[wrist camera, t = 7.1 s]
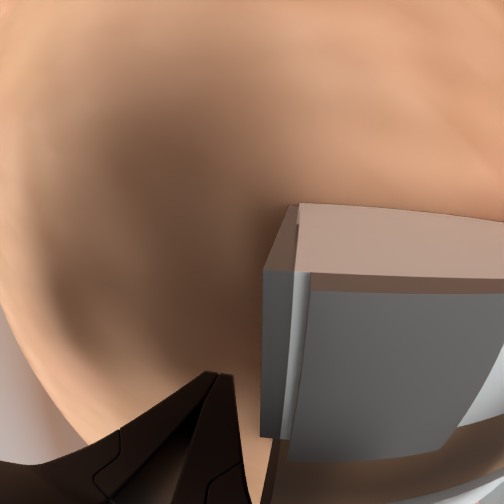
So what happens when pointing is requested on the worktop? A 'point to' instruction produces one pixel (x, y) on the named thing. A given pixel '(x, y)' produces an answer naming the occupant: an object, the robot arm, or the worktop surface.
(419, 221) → the sleeve
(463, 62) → the worktop surface
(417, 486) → the peg
